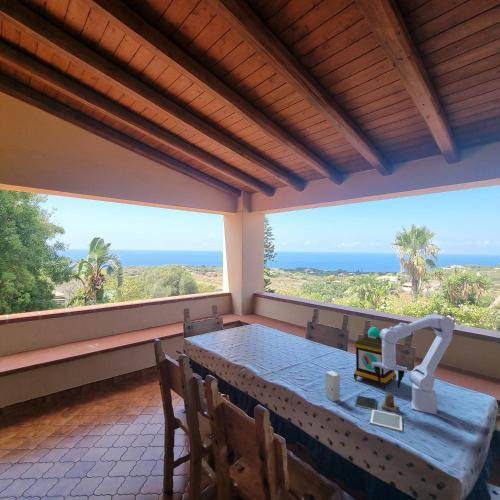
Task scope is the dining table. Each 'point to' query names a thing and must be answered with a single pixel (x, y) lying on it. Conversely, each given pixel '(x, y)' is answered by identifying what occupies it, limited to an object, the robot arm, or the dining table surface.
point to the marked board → (386, 420)
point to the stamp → (389, 403)
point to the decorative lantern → (371, 358)
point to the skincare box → (332, 386)
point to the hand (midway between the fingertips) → (389, 385)
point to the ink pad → (366, 402)
